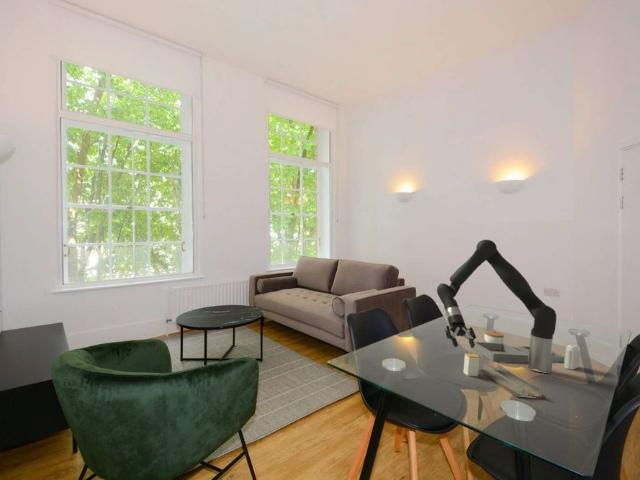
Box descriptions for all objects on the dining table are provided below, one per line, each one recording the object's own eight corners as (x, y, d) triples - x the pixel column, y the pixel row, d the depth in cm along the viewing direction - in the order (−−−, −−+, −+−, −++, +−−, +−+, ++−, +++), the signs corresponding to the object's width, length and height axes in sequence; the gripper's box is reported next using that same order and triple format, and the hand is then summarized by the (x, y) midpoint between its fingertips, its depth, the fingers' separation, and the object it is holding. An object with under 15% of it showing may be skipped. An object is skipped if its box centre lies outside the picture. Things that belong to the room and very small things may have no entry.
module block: (473, 372, 156) (475, 354, 155) (477, 376, 152) (479, 356, 152) (463, 372, 155) (465, 353, 155) (467, 375, 151) (469, 356, 151)
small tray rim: (542, 352, 200) (543, 347, 200) (565, 362, 184) (565, 356, 184) (518, 350, 198) (519, 345, 198) (538, 360, 182) (539, 355, 182)
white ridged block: (570, 364, 180) (572, 342, 180) (579, 367, 177) (581, 344, 176) (562, 367, 174) (564, 344, 174) (571, 370, 171) (574, 347, 171)
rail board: (502, 372, 159) (503, 365, 159) (544, 398, 134) (545, 390, 134) (479, 371, 158) (480, 364, 158) (517, 397, 132) (518, 389, 132)
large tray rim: (503, 350, 197) (503, 343, 197) (527, 362, 177) (528, 355, 177) (471, 348, 195) (472, 341, 195) (492, 361, 175) (493, 353, 175)
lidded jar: (485, 346, 201) (486, 331, 201) (482, 341, 212) (483, 327, 211) (504, 349, 198) (506, 334, 198) (500, 344, 208) (501, 329, 208)
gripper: (444, 312, 168) (454, 342, 157) (471, 314, 169) (482, 344, 158) (438, 320, 173) (447, 349, 162) (464, 322, 175) (474, 351, 163)
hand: (464, 346), depth 160 cm, fingers open, 8 cm apart
